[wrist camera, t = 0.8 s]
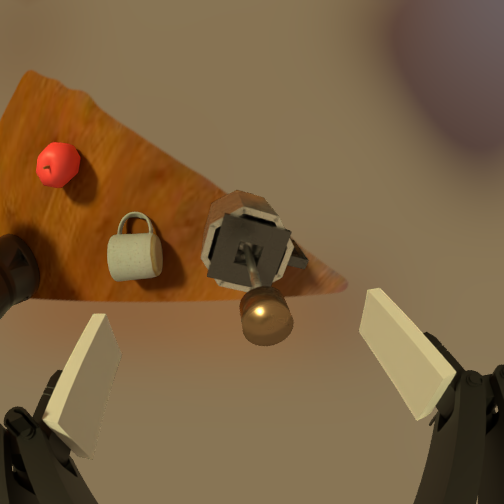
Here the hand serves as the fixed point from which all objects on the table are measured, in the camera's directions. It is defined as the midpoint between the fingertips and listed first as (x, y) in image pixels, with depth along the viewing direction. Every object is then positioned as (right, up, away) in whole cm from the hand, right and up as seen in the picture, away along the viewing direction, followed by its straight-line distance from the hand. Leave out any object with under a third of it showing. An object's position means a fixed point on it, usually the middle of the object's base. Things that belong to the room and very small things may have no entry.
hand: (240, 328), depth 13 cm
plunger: (0, +5, +24) cm, 25 cm away
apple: (-31, +19, +25) cm, 45 cm away
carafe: (0, +8, +34) cm, 35 cm away
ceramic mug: (-19, +6, +32) cm, 38 cm away
